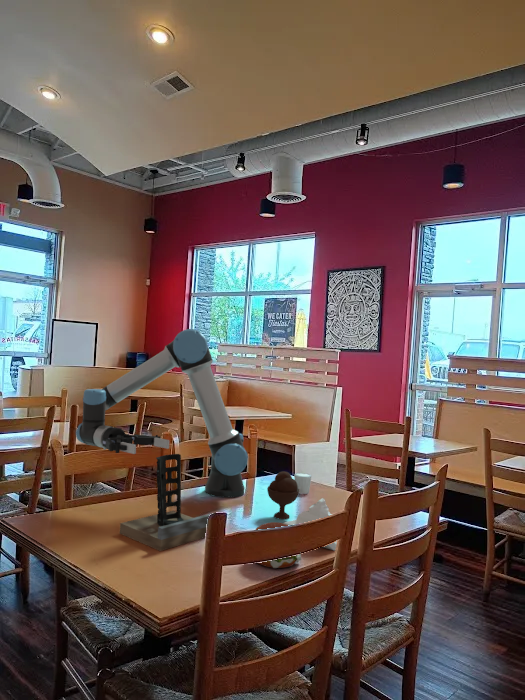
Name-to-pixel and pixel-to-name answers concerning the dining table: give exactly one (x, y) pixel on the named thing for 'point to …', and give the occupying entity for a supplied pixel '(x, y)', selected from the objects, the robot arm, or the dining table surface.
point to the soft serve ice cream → (314, 517)
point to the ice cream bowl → (283, 492)
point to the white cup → (303, 482)
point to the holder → (162, 493)
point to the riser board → (165, 531)
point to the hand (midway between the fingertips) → (152, 446)
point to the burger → (284, 561)
